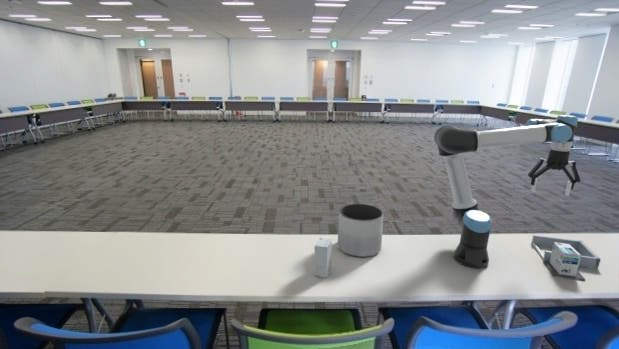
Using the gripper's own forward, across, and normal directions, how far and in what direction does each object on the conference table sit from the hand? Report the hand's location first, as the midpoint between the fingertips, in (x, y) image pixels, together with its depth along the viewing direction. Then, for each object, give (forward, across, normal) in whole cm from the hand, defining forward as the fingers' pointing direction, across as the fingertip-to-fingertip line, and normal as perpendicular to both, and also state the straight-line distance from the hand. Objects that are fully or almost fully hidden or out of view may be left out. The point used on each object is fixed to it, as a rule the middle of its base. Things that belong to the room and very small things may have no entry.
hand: (549, 193), depth 156 cm
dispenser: (+31, +12, +2) cm, 34 cm away
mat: (+31, +7, -14) cm, 35 cm away
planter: (+32, -84, -27) cm, 94 cm away
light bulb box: (+31, +7, -14) cm, 35 cm away
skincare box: (+32, -95, -55) cm, 114 cm away
